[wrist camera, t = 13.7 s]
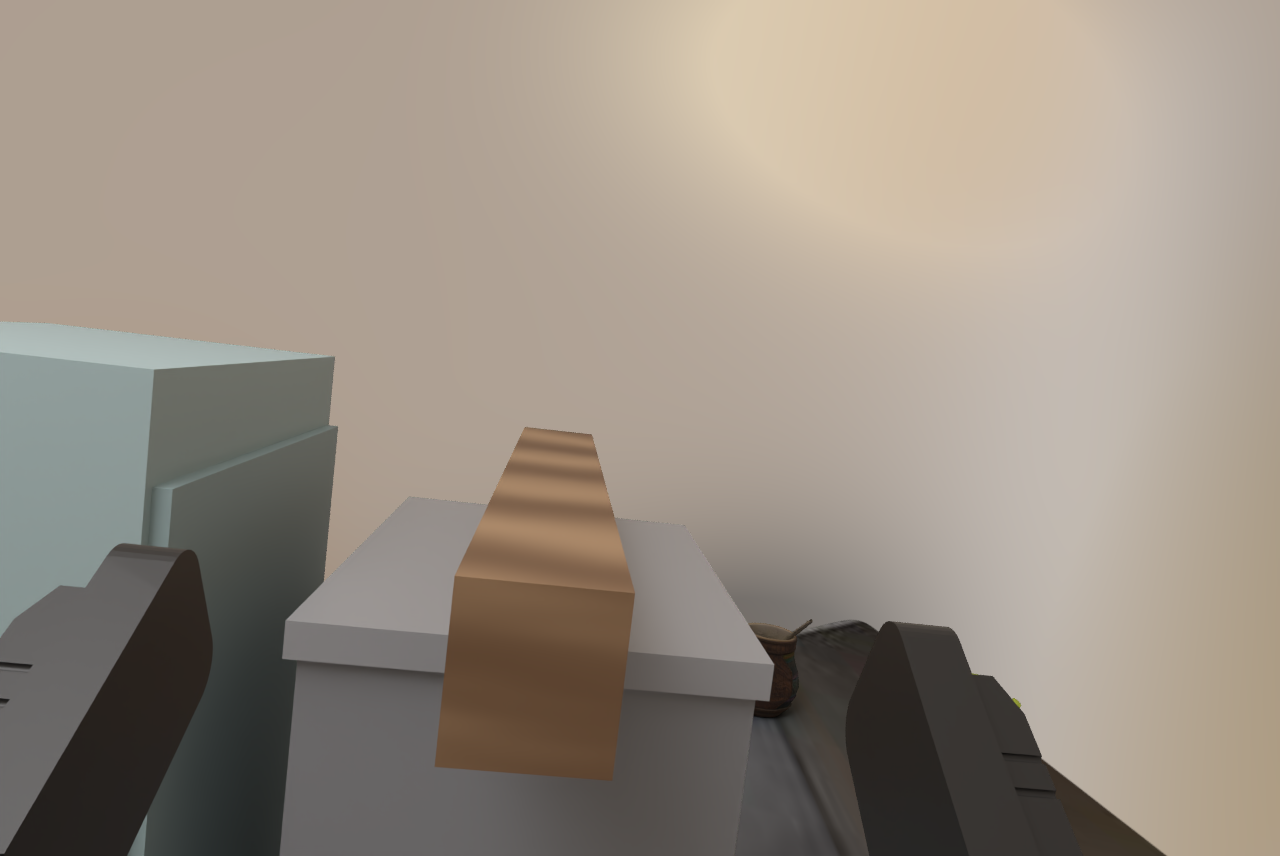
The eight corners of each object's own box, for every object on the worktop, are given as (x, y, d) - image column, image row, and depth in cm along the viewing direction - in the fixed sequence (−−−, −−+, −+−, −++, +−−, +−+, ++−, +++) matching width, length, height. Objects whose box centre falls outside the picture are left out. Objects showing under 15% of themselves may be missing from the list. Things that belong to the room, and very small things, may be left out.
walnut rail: (612, 781, 17) (634, 593, 17) (434, 766, 17) (454, 575, 16) (583, 506, 45) (591, 434, 44) (516, 499, 44) (524, 426, 44)
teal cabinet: (85, 1527, 26) (175, 371, 23) (-410, 1525, 24) (-378, 309, 22) (283, 1038, 43) (346, 357, 41) (2, 1024, 42) (48, 323, 40)
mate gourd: (722, 689, 96) (736, 596, 95) (795, 702, 95) (810, 608, 94) (719, 715, 89) (734, 614, 88) (798, 730, 88) (814, 628, 87)
